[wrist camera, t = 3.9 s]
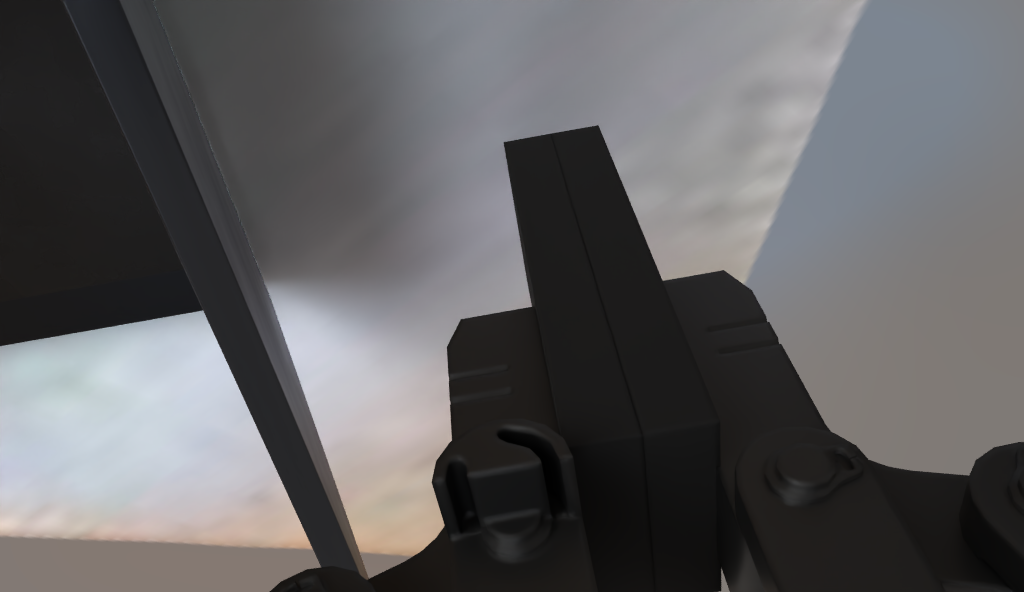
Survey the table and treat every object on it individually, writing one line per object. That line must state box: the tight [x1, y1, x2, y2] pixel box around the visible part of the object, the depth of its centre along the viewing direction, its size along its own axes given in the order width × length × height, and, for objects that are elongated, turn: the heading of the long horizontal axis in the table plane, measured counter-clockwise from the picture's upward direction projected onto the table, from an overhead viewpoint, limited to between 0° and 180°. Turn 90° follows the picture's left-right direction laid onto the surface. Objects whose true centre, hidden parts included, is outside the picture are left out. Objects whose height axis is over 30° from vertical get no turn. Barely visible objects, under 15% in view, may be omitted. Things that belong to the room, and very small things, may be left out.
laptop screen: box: [61, 0, 369, 580], centre depth 24 cm, size 22×32×1 cm
